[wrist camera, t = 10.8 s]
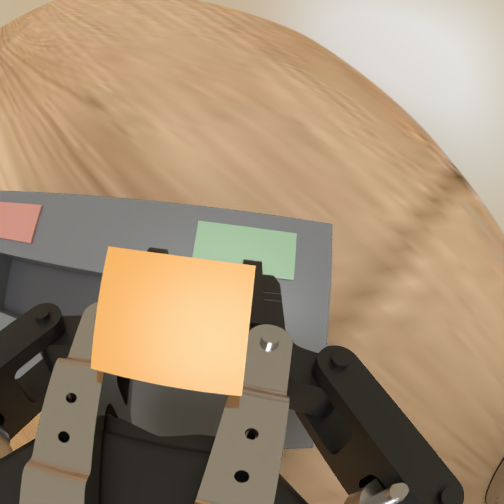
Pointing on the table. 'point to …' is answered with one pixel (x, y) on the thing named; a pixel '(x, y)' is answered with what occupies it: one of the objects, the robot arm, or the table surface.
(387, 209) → the table surface
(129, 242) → the slotted lever switch base
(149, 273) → the handle
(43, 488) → the robot arm
